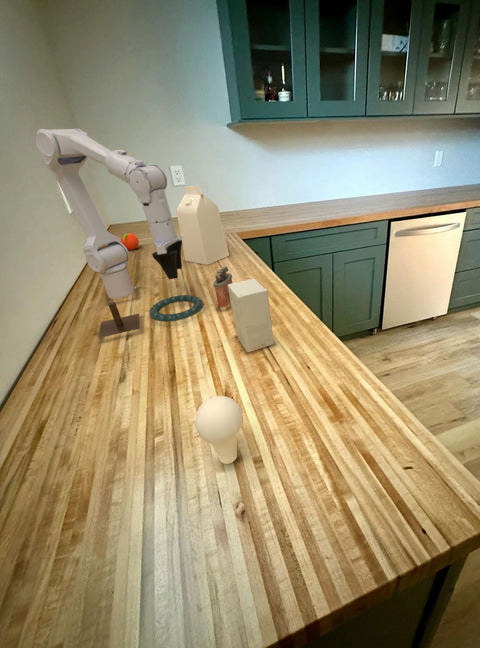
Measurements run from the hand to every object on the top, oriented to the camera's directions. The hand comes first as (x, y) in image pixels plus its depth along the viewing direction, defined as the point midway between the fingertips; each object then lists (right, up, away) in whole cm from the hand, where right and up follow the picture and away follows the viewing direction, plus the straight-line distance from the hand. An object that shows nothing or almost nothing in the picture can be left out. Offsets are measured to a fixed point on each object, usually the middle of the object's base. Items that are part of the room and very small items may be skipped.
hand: (175, 273), depth 88 cm
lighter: (+13, -8, +5) cm, 16 cm away
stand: (-12, -15, -4) cm, 19 cm away
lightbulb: (+23, -33, -40) cm, 57 cm away
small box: (+23, -17, -13) cm, 31 cm away
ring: (0, -9, +1) cm, 9 cm away
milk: (-3, +12, +42) cm, 44 cm away
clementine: (-41, +19, +59) cm, 74 cm away
